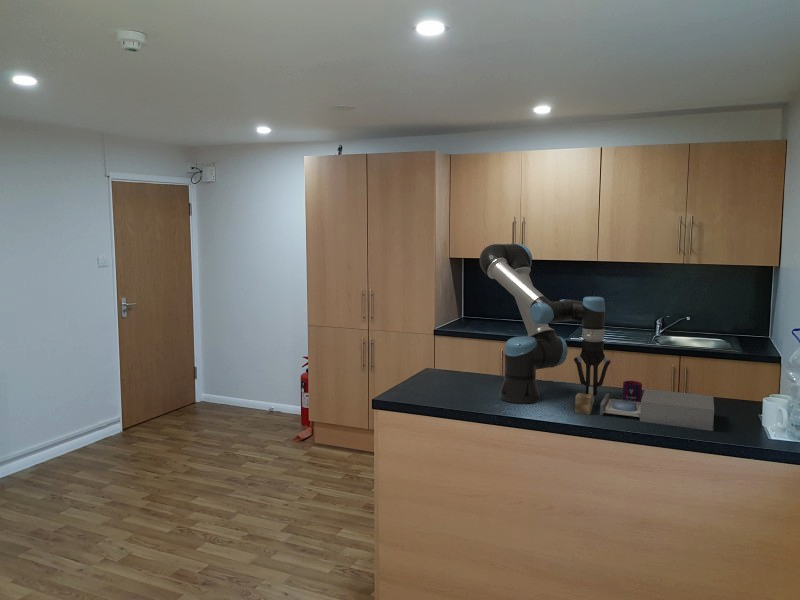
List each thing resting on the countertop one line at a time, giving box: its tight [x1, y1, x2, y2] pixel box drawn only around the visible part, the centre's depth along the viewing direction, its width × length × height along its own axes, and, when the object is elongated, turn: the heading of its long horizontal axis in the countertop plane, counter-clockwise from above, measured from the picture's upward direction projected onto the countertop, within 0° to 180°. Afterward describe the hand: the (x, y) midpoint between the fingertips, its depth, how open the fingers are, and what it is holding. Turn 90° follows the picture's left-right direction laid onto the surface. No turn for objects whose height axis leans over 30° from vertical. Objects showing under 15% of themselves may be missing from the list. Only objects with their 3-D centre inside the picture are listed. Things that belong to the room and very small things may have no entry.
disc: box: [612, 399, 636, 411], centre depth 215 cm, size 8×8×2 cm
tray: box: [599, 392, 641, 418], centre depth 214 cm, size 18×16×4 cm
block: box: [574, 392, 593, 416], centre depth 215 cm, size 5×5×6 cm
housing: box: [639, 388, 715, 432], centre depth 207 cm, size 22×18×7 cm
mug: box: [622, 380, 643, 402], centre depth 231 cm, size 7×10×7 cm
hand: (591, 403), depth 220 cm, fingers closed
